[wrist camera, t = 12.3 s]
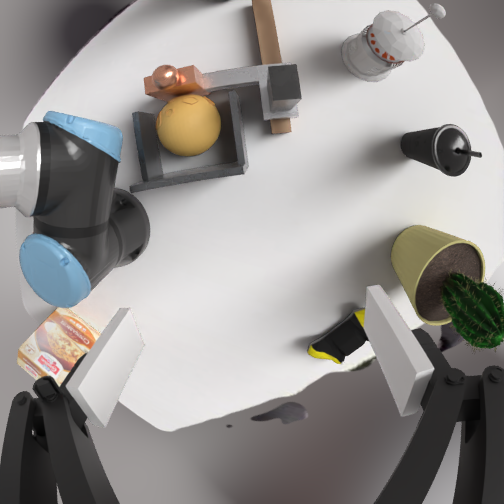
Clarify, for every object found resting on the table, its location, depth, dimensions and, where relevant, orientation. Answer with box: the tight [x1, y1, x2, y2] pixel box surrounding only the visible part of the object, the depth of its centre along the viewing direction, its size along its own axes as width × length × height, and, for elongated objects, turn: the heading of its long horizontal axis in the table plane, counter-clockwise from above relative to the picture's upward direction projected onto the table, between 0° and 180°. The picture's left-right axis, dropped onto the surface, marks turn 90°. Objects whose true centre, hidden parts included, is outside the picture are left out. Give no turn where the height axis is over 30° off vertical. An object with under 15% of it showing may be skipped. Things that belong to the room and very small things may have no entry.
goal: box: [130, 91, 248, 193], centre depth 41 cm, size 16×12×12 cm
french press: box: [341, 4, 446, 82], centre depth 27 cm, size 10×12×25 cm
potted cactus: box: [391, 225, 504, 351], centre depth 38 cm, size 15×15×30 cm
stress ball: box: [156, 94, 221, 156], centre depth 41 cm, size 10×10×10 cm
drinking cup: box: [401, 124, 482, 176], centre depth 35 cm, size 8×8×20 cm
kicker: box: [144, 63, 302, 121], centre depth 35 cm, size 20×9×17 cm, turn 97°
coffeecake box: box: [17, 307, 101, 387], centre depth 54 cm, size 15×7×20 cm, turn 52°
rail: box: [252, 0, 291, 134], centre depth 40 cm, size 3×25×3 cm, turn 7°
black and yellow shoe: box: [307, 307, 370, 364], centre depth 57 cm, size 15×6×10 cm
